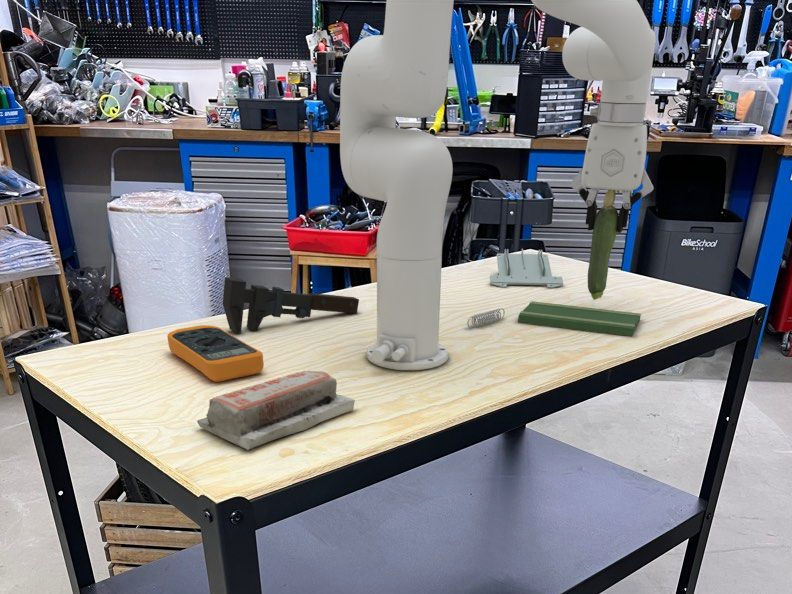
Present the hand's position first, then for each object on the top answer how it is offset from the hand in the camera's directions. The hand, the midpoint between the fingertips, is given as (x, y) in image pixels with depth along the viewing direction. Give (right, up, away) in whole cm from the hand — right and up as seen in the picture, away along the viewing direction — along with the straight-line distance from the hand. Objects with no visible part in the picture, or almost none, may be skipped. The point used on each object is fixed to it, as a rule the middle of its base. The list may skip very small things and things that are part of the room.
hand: (605, 229), depth 142 cm
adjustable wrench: (-55, -18, -3) cm, 58 cm away
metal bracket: (-11, 0, +27) cm, 29 cm away
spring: (-22, -18, -2) cm, 28 cm away
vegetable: (0, -11, +7) cm, 13 cm away
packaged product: (-52, -41, -40) cm, 77 cm away
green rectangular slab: (-5, -17, 0) cm, 17 cm away
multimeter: (-65, -29, -22) cm, 74 cm away
